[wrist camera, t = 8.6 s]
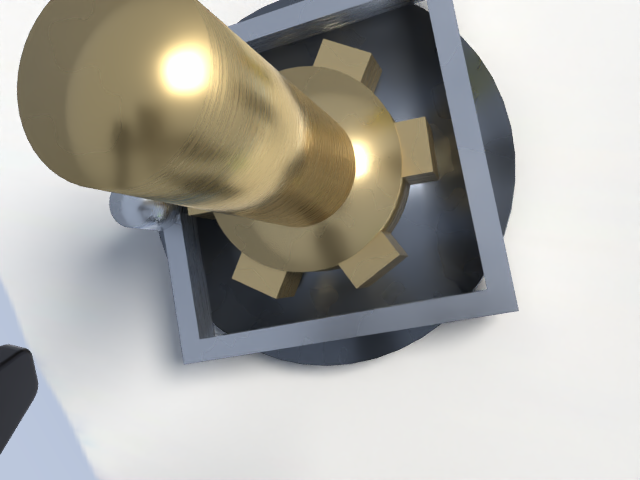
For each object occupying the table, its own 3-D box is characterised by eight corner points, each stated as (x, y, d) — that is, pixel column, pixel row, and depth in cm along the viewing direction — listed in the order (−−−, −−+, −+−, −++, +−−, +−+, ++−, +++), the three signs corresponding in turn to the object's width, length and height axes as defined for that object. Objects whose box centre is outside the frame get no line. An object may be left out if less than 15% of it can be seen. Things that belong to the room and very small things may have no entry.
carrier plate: (554, 330, 20) (565, 345, 16) (194, 383, 24) (135, 405, 20) (470, -51, 21) (462, -121, 18) (144, 59, 25) (80, 23, 22)
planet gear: (486, 195, 20) (463, 95, 8) (298, 342, 22) (67, 423, 10) (334, 14, 22) (147, -267, 10) (173, 162, 24) (-139, 62, 12)
